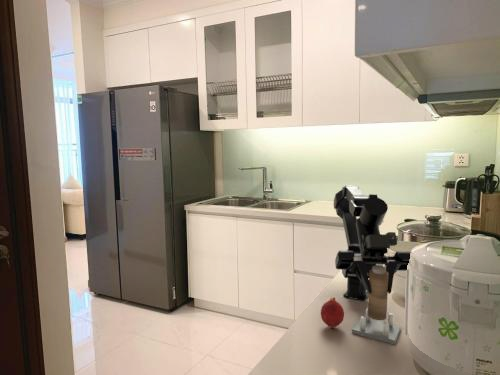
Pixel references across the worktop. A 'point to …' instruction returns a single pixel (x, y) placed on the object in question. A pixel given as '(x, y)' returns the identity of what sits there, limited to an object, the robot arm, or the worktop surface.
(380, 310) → the pepper mill
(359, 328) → the pin tray
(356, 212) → the robot arm
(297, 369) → the worktop surface
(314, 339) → the worktop surface
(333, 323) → the pomegranate
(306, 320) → the worktop surface
